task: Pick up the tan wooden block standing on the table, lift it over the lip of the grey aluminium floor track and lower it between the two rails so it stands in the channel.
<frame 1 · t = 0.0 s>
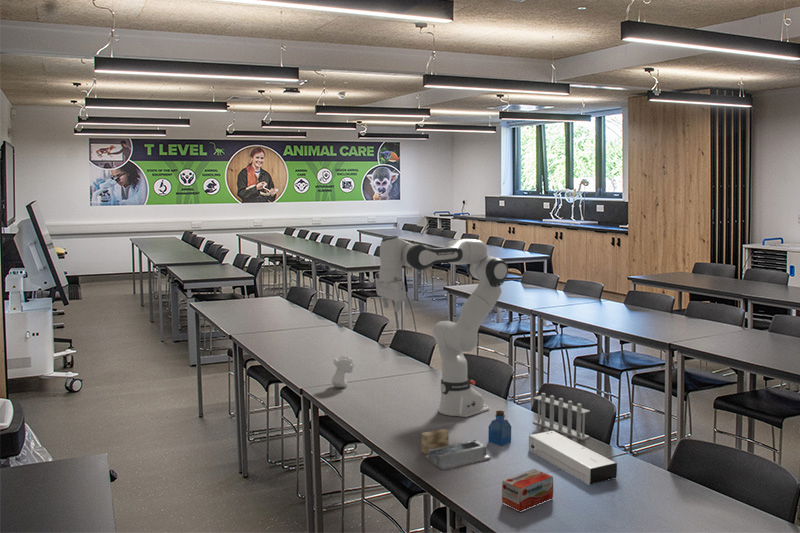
hand: (391, 309, 280), 48 cm above the table, tool pointing down, fingers open, 8 cm apart
test tube rack: (560, 430, 276), on the table
floor track: (457, 458, 248), on the table
medicine box: (527, 502, 214), on the table
white lumpy upright piece: (343, 387, 336), on the table
tan wooden block: (435, 450, 256), on the table
perfume bottle: (499, 442, 264), on the table
laminator: (569, 465, 242), on the table
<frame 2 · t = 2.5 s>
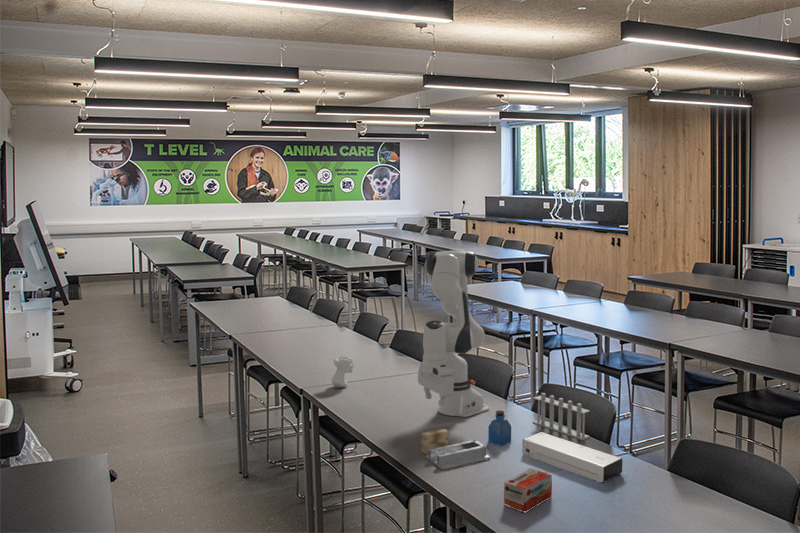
hand: (434, 401, 254), 19 cm above the table, tool pointing down, fingers open, 8 cm apart
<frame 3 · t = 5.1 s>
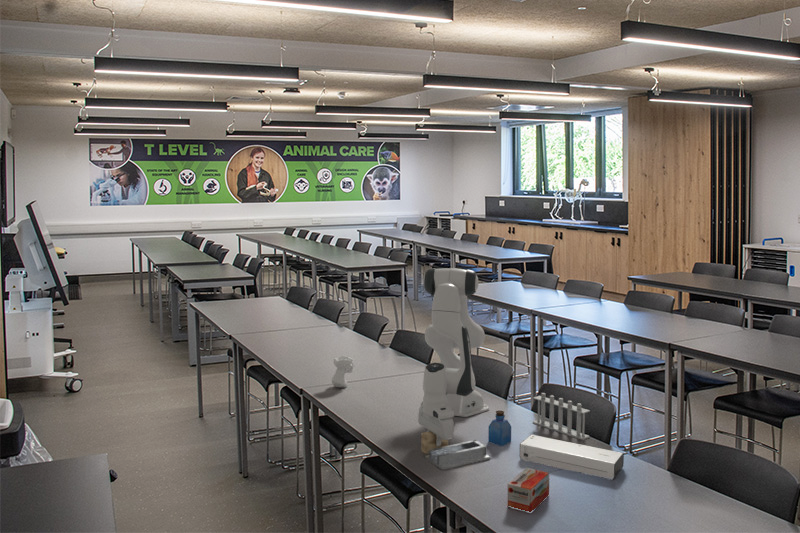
hand: (435, 443, 256), 3 cm above the table, tool pointing down, fingers closed on tan wooden block, 3 cm apart
tan wooden block: (435, 449, 256), on the table, touching gripper
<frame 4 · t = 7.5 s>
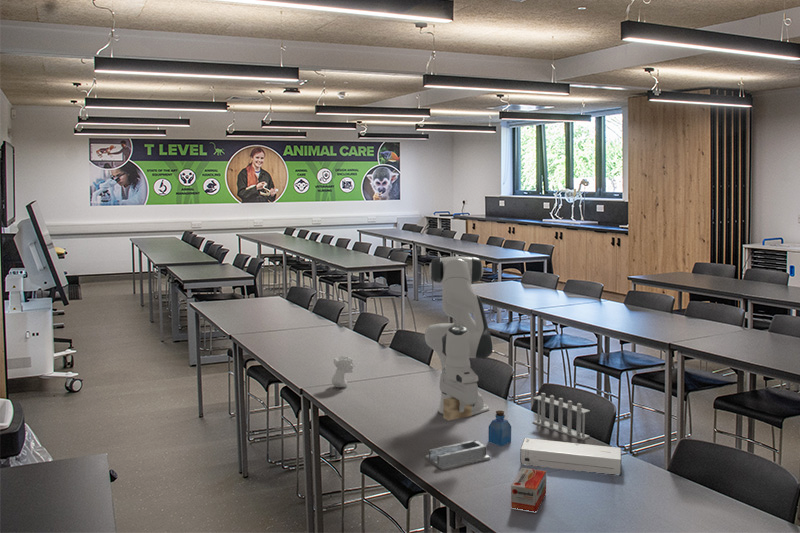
hand: (457, 409, 246), 18 cm above the table, tool pointing down, fingers closed on tan wooden block, 3 cm apart
tan wooden block: (457, 416, 246), point 16 cm above the table, touching gripper
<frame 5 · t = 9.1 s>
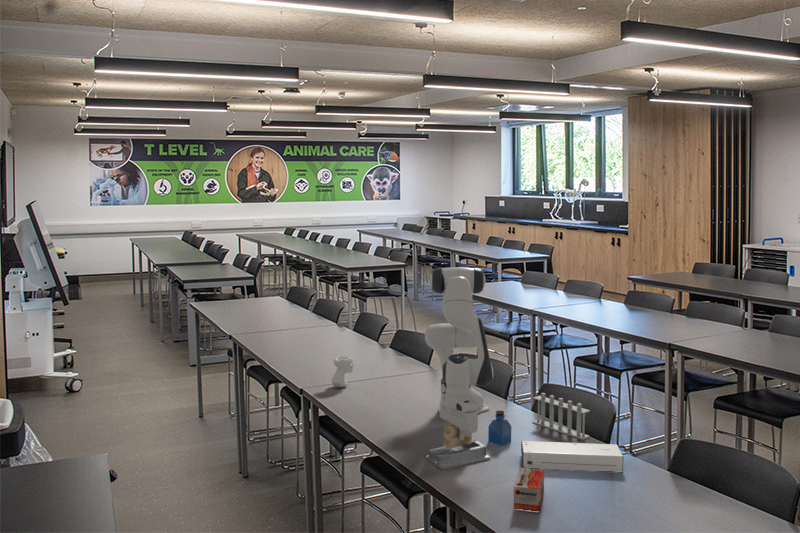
hand: (457, 437, 247), 8 cm above the table, tool pointing down, fingers closed on tan wooden block, 3 cm apart
tan wooden block: (457, 444, 247), point 5 cm above the table, touching gripper
when the fingers open (6 cm above the table, at t = 10.3 s): tan wooden block drops 2 cm, resting on floor track.
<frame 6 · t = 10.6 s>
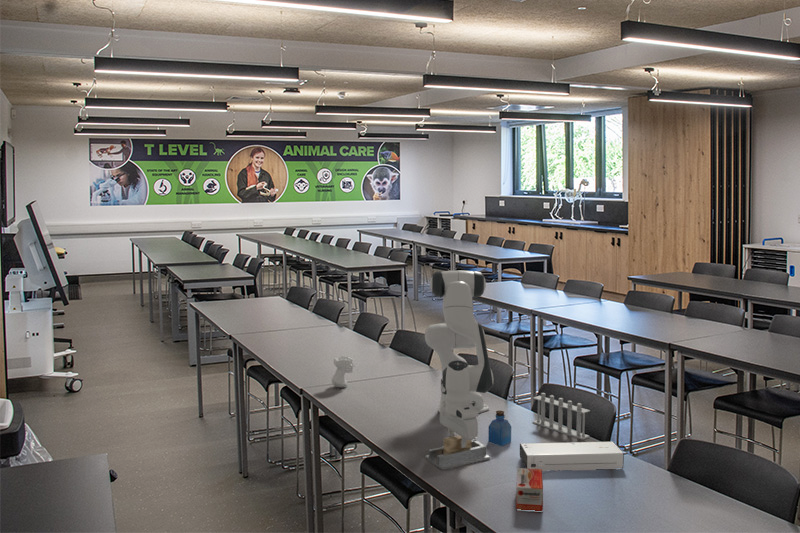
hand: (457, 443, 247), 6 cm above the table, tool pointing down, fingers open, 5 cm apart
tan wooden block: (457, 455, 248), point 1 cm above the table, touching floor track
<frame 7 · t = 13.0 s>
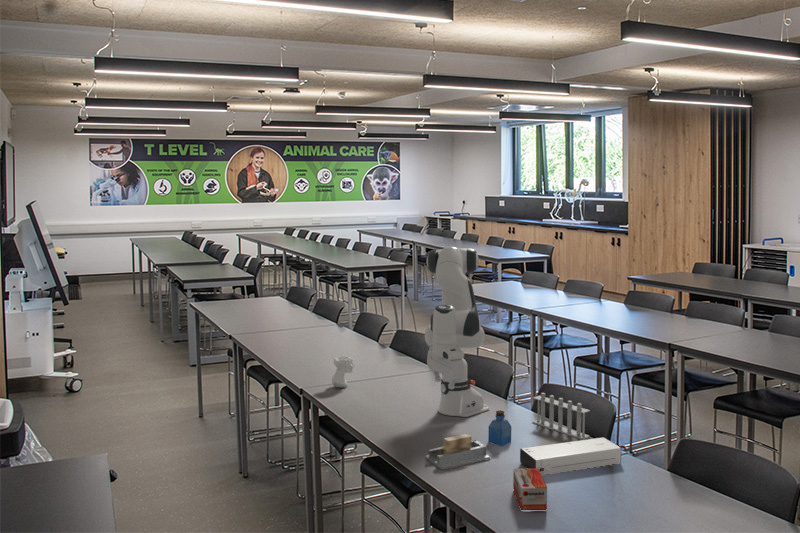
hand: (444, 385, 255), 24 cm above the table, tool pointing down, fingers open, 8 cm apart
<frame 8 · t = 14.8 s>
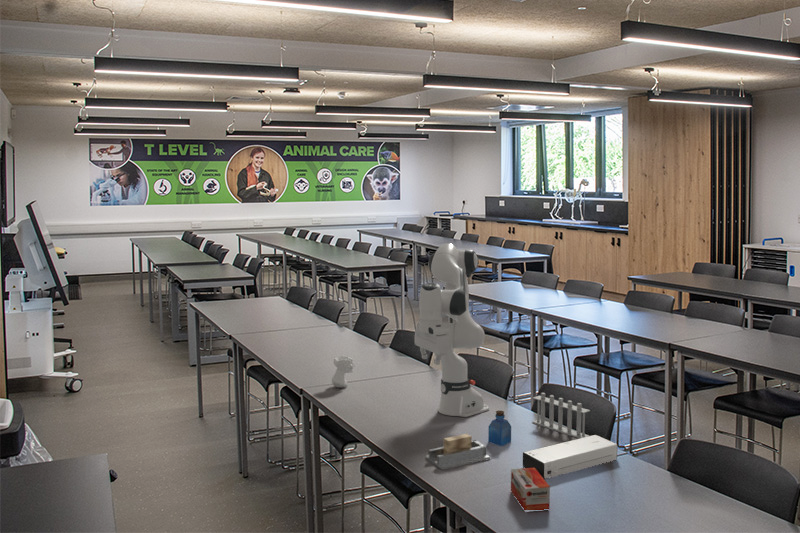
hand: (430, 361, 263), 31 cm above the table, tool pointing down, fingers open, 8 cm apart
at the end: tan wooden block inside the target area on the floor track (0.2 cm from its centre), point 1.0 cm above the floor track's base; tan wooden block tilted 0°; the gripper is holding nothing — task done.
